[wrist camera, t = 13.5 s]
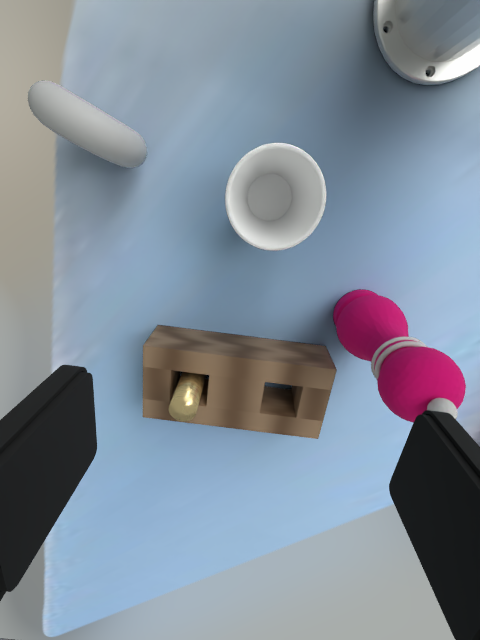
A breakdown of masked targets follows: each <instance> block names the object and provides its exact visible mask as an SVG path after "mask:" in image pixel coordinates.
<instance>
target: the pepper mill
mask: <svg viewBox="0 0 480 640" xmlns="http://www.w3.org/2000/svg"><path fill="white" fill-rule="evenodd" d="M333 319H334V323H335V325H336V329H337V335H338V338H339V340H340V342H341V344H342V345H343V346H344V347H345V349H346V350H347V351H348V352H350V353H351V354H353V355H354V356H356V357H358V358H361V359H364V360H367V361H371V368H372V372H373V375H374V376H375V378H376V379H377V381H378V390H379V393H380V396H381V398H382V400H383V402H384V403H385V404H386V405H387V407H388V408H389V409H390V410H391V411H392V412H393V413H394V414H396V415H398V416H399V417H401V418H402V419H405V420H407V421H410V422H414V421H415V419H416V417H417V416H418V415H420V414H422V413H423V412H424V411H426V410H431V411H439V412H447V413H450V414H451V415H452V416H453V417H454V418H455V419H456V418H457V409H458V407H459V406H460V405H461V403H462V402H463V398H464V395H465V388H466V385H465V380H464V377H463V374H462V372H461V370H460V368H459V367H458V366H457V365H456V363H455V362H454V361H453V360H452V359H451V358H450V357H449V356H447V355H446V354H444V353H442V352H440V351H438V350H436V349H433V348H428V347H427V346H426V345H425V344H424V343H423V342H421V341H420V340H418V339H416V338H413V337H409V336H408V325H407V321H406V318H405V316H404V314H403V312H402V311H401V310H400V308H399V307H398V306H397V305H396V304H395V303H394V302H393V301H391V300H390V299H388V298H385V297H383V296H378V295H377V294H376V293H374V292H372V291H369V290H354V291H352V292H349V293H347V294H346V295H344V296H343V297H342V298H341V299H340V300H339V301H338V303H337V304H336V306H335V308H334V312H333Z"/></svg>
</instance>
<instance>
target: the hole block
mask: <svg viewBox="0 0 480 640" xmlns="http://www.w3.org/2000/svg"><path fill="white" fill-rule="evenodd" d="M336 370H337V369H336V367H335V365H334V363H333V361H332V359H331V356H330V354H329V352H328V350H327V348H326V346H322V345H314V344H306V343H298V342H290V341H282V340H274V339H266V338H258V337H250V336H242V335H234V334H226V333H218V332H210V331H202V330H194V329H186V328H179V327H171V326H163V325H158V326H157V327H156V328H155V330H154V331H153V333H152V334H151V335H150V337H149V338H148V339H147V341H146V342H145V344H144V345H143V417H146V418H154V419H162V420H170V421H178V420H176V419H174V418H173V417H172V416H171V415H170V413H169V405H170V402H171V400H172V397H173V395H174V392H175V390H176V387H177V385H178V382H179V380H180V377H181V376H180V371H182V372H190V373H198V374H206V375H209V379H205V382H204V386H203V390H202V393H201V397H200V401H199V405H198V409H197V412H196V415H195V417H194V418H193V419H191V420H189V421H178V422H186V423H195V424H203V425H211V426H219V427H227V428H235V429H243V430H251V431H259V432H267V433H275V434H283V435H291V436H299V437H307V438H315V439H318V437H319V434H320V430H321V426H322V423H323V419H324V415H325V411H326V408H327V404H328V400H329V396H330V393H331V389H332V385H333V382H334V378H335V374H336ZM265 382H270V383H278V384H286V385H292V387H291V389H283V388H275V387H267V386H264V385H265Z"/></svg>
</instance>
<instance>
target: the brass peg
mask: <svg viewBox="0 0 480 640" xmlns="http://www.w3.org/2000/svg"><path fill="white" fill-rule="evenodd" d="M205 378H206V374H198V373H190V372H182V375H181V377H180V380H179V382H178V385H177V387H176V390H175V392H174V395H173V397H172V400H171V402H170V405H169V413H170V415H171V416H172V417H173V418H174V419H176V420H178V421H189V420H191V419H193V418H194V417H195V415H196V412H197V409H198V405H199V401H200V397H201V393H202V390H203V386H204V382H205Z"/></svg>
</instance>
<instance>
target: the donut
mask: <svg viewBox="0 0 480 640" xmlns="http://www.w3.org/2000/svg"><path fill="white" fill-rule="evenodd" d="M28 102H29V106H30V109H31V110H32V112H33V114H34V115H35V116H36V118H38V120H39V121H40V122H41V123H42V124H43V125H45V126H46V127H48V128H49V129H50V130H52V131H53V132H55V133H57V134H58V135H60V136H62V137H63V138H65V139H66V140H68V141H70V142H72V143H73V144H75V145H77V146H79V147H81V148H83V149H85V150H86V151H88V152H90V153H92V154H94V155H96V156H98V157H100V158H102V159H105V160H107V161H109V162H111V163H114V164H116V165H119V166H122V167H125V168H135V167H139V166H140V165H141V164H143V162H144V161H145V159H146V156H147V146H146V143H145V141H144V139H143V138H142V136H141V135H140V134H138V133H137V132H136V131H135V130H133V129H131V128H130V127H128V126H127V125H125V124H123V123H122V122H120V121H118V120H117V119H115V118H114V117H112V116H110V115H109V114H107V113H105V112H104V111H102V110H100V109H99V108H97V107H95V106H94V105H92V104H90V103H89V102H87V101H85V100H84V99H82V98H80V97H79V96H77V95H75V94H74V93H72V92H70V91H69V90H67V89H65V88H64V87H62V86H60V85H58V84H56V83H54V82H51V81H45V80H42V81H38V82H36V83H35V84H34V85H32V86H31V88H30V90H29V92H28Z"/></svg>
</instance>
